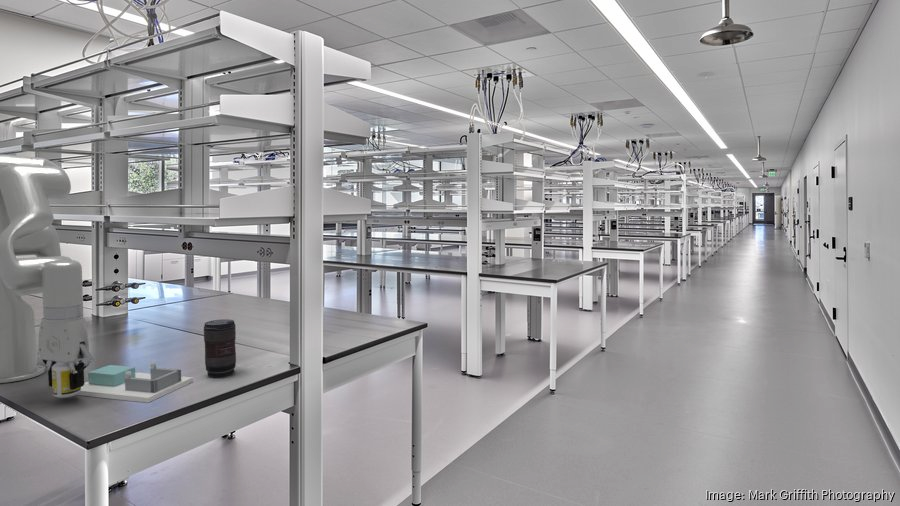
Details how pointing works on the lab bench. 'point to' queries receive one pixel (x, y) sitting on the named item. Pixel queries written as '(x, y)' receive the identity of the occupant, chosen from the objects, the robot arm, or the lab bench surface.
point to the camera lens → (220, 347)
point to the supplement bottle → (62, 380)
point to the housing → (110, 375)
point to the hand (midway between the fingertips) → (66, 385)
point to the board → (140, 385)
